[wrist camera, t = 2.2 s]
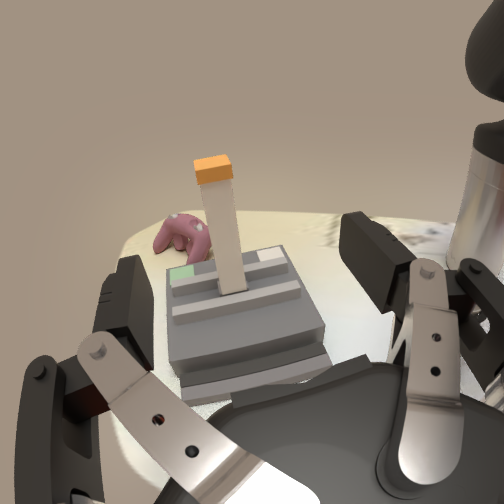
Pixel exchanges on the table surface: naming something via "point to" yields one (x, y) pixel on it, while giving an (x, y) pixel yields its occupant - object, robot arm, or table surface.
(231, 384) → the grey long flat bar
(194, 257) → the video game controller
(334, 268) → the table surface
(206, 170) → the breaker lever
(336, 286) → the table surface
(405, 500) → the robot arm
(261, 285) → the breaker panel
